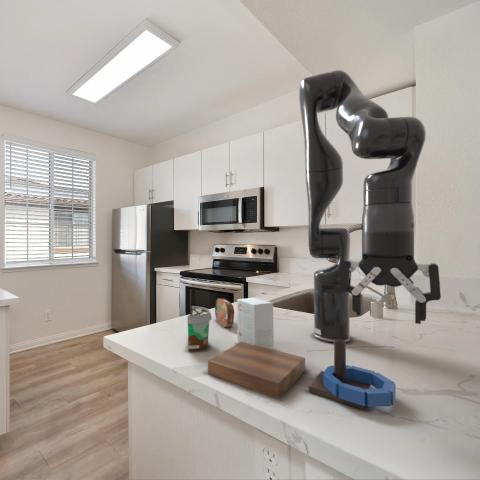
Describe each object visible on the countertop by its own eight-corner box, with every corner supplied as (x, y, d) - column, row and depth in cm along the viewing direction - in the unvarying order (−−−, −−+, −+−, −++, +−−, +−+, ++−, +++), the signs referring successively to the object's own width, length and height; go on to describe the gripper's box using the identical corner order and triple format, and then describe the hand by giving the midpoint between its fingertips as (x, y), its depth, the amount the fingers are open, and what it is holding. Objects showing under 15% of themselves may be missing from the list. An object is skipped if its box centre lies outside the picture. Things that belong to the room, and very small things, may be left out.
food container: (211, 355, 78) (210, 317, 78) (187, 353, 79) (187, 316, 79) (212, 339, 90) (212, 306, 90) (192, 337, 91) (191, 305, 91)
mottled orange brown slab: (214, 318, 113) (214, 296, 113) (222, 317, 113) (222, 295, 113) (226, 330, 98) (226, 305, 98) (235, 330, 98) (235, 304, 98)
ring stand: (321, 376, 66) (321, 330, 66) (370, 389, 60) (370, 339, 60) (308, 391, 59) (308, 341, 59) (362, 409, 53) (362, 352, 53)
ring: (332, 371, 65) (332, 360, 65) (397, 389, 58) (397, 376, 58) (317, 391, 57) (317, 378, 57) (390, 414, 50) (390, 400, 50)
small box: (274, 350, 81) (273, 302, 80) (254, 354, 78) (254, 304, 78) (255, 341, 88) (254, 297, 88) (236, 343, 86) (236, 298, 86)
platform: (241, 352, 80) (241, 341, 80) (305, 370, 69) (305, 357, 69) (208, 373, 68) (207, 360, 68) (278, 398, 57) (278, 383, 57)
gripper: (440, 228, 52) (440, 321, 52) (345, 230, 62) (346, 308, 62) (441, 228, 47) (441, 332, 47) (337, 230, 56) (337, 316, 56)
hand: (387, 318), depth 54 cm, fingers open, 8 cm apart
